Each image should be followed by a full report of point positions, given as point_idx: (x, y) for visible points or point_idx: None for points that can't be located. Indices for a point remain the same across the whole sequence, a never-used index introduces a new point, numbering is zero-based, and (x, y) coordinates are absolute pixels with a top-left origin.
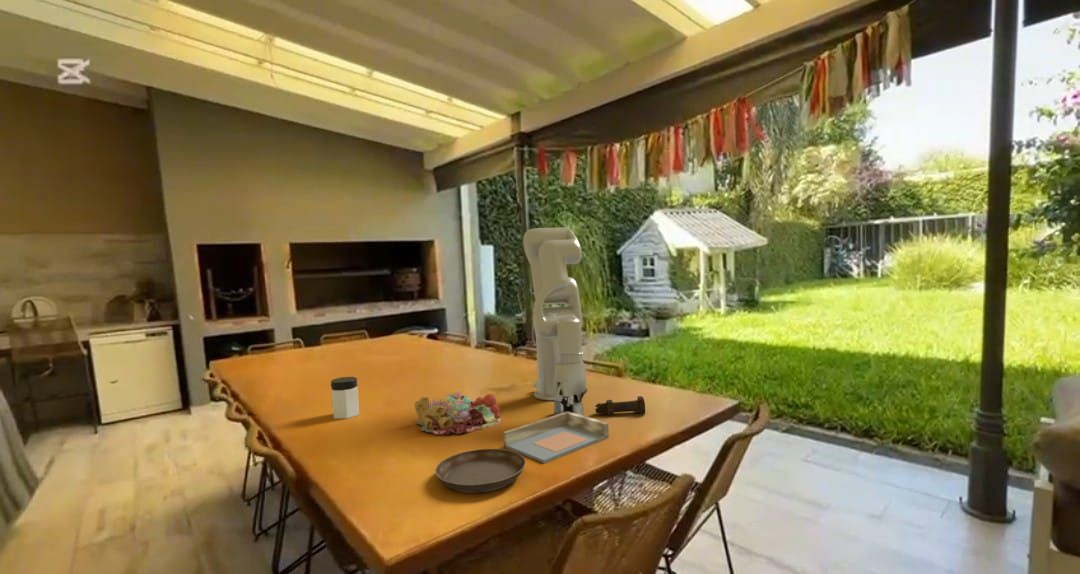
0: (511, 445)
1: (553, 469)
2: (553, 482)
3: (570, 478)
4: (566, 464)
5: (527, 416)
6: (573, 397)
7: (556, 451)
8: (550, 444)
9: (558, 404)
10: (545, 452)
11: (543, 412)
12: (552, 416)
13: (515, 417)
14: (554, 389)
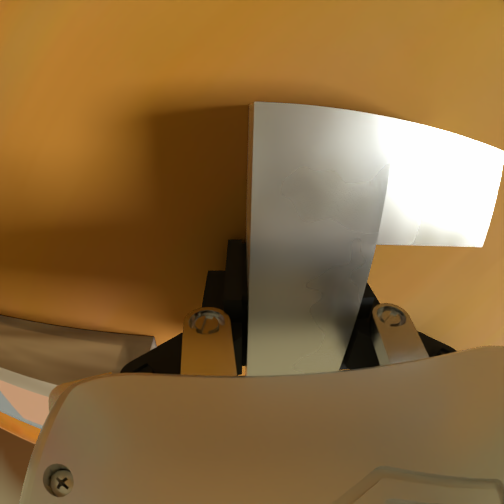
0: None
1: (15, 422)
2: (11, 430)
3: (34, 443)
4: (37, 432)
5: (63, 23)
6: (377, 347)
7: (24, 418)
8: (16, 398)
9: (249, 189)
10: (3, 402)
11: (211, 11)
12: (29, 380)
13: (17, 8)
14: (35, 451)
